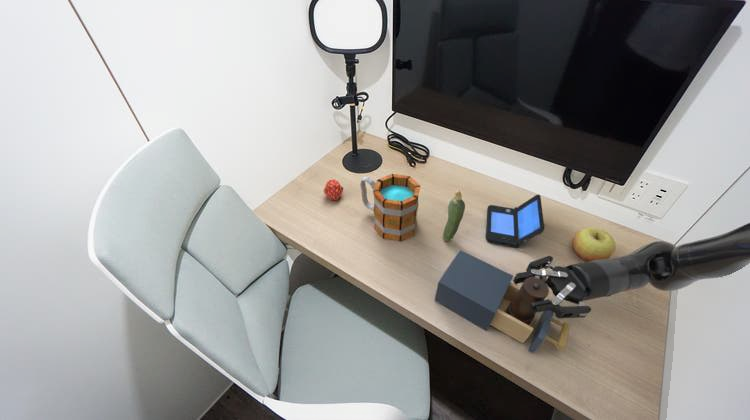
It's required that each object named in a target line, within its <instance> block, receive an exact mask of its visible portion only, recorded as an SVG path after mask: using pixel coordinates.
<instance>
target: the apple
mask: <svg viewBox="0 0 750 420" xmlns="http://www.w3.org/2000/svg"><path fill="white" fill-rule="evenodd" d="M571 243H572V249H573V251H574V253H575V254H576V255H577V256H578V257H579V258H581V259H583V260H585V262H589V261H594V260H600V259H611V257H612V255H614V253H615V251H616V241H615V239H614V238H613V236H612V235H611V234H610V233H609V232H608V231H606V230H604V229H603V228H602V229H601V228H599V227H593V226H591V227H585V228H582V229H580V230H578V231H577V232H576V233H575V234H574V237H573V239H572V241H571Z"/></svg>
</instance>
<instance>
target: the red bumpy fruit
mask: <svg viewBox="0 0 750 420" xmlns="http://www.w3.org/2000/svg"><path fill="white" fill-rule="evenodd" d="M343 190H344V187H343V185H341V183H340V182H339V181H338V180H336V179H329V180H328V181H327V182H326V184H325V185H324V189H323V193H324V194H325V196H326V197H327V198H328V199H330V200H332V201H337V200H338V199H340V198H341V195H342V193H343Z"/></svg>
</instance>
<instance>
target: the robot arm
mask: <svg viewBox="0 0 750 420" xmlns="http://www.w3.org/2000/svg"><path fill="white" fill-rule="evenodd" d="M553 260H554V257H553V256H552V255H546V256H544V257H541V258H538V259H536V260H532V261H530V262H529V264H528V265H527V267H526V269H525V271H522V272H517V273H516V274H515V276H513V278H512V282H513V284H515V285H517V284H523V283H524V281H525V279H527V278H529V277H536V278H539V279H541V280H542V281H544V282H545V283H546V284H547V286H548V288H549V290H550V291H551V292H552V294H553V296H554V297H553V298H552V299H551V300H550V299H549V298H547V299H544V300H542V301H537V302H533V303H531V305H530V306H529V309H530V310H531V311H534V312H536V313H543V311H547V310H550V311H553V312H554V315H555V317H556V319H561V320H562V319H577V318H578V319H582V318H586V317H587V316H588V315H589V314H590V313H591V312H592V308H591V306H589V305H586V304H585V303H586V302H585V301H590V300H595V299H600V298H608V297H611V296H614V295H617V294H620V293H623V292H627V291H633V290H638V289H641V288H644V287H646V286H648V284H650V285H651V287H652V288H655V290H659V291H661V292H674V291H678V290H681V289H683V288H687V287H688V286H690V285H692V284H694V283H695V282H699V281H700V280H708V279H709V280H710V279H719V277H720V278H724V277H723V276H727V275H730V274H732V273H734V272H736V271H738V270H740V269H742V268H743V267H745V266H746V265H748V264H749V263H750V222H748V223H745V224H743V225H741V226H739V227H737V228H735V229H731V230H729V231H727V232H724V233H721V234H718V235H716V236H712V237H708V238H703V239H697V240H695V241H689V242H686V243H682V244H679V245H677V246H676V245H674V244H673V243H671V242H669V241H664V240H657V241H652V242H648V243H646V244H644V245H642V246H641V247H639V248H637V249H635V250H634V251H632V252H630V253H628V254H626V255H622V256H617V257H612V258H611V257H610V258H609V259H600V260H594V261H582V262H577V263H573V264H569V265H567V266H561V265H557V264H556V263H555V262H554V261H553ZM542 269H543V270H542ZM564 301H566V302H569V303H572V304H575V305H572V306H571V305H570V306H561V304H562V303H564Z"/></svg>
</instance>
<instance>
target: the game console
mask: <svg viewBox="0 0 750 420" xmlns="http://www.w3.org/2000/svg"><path fill="white" fill-rule="evenodd" d="M485 227H486V228H485V229H486V230H485V240H486V241H487V242H488V243H492V244H495V245H500V246H505V247H506V246H507V247H512V248H516V249H518V248H520V245H522V244H524V243H526V242H528V241H530V240H531V239H534V238H535V237H537V236H539V235H540V234H542V233H544V231H545V221H544V213H543V206H542V197H541V195H540V194H536V195H534V196H532V197H531V198H529V199H527V200H526V201H525V202H523V203H522V204H520V205H518V206H516V207H514V208H512V207H506V206H500V205H495V204H490V205H488V206H487V209H486V226H485Z"/></svg>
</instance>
